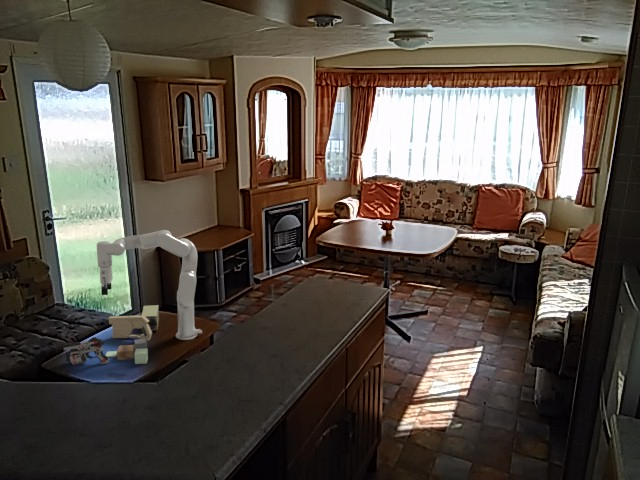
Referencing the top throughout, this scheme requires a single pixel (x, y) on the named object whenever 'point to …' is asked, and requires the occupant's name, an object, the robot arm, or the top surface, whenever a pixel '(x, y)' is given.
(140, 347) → the grey cube
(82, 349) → the toy blaster
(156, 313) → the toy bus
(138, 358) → the sage cube
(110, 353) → the sage tile
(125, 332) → the gun
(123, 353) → the walnut base
